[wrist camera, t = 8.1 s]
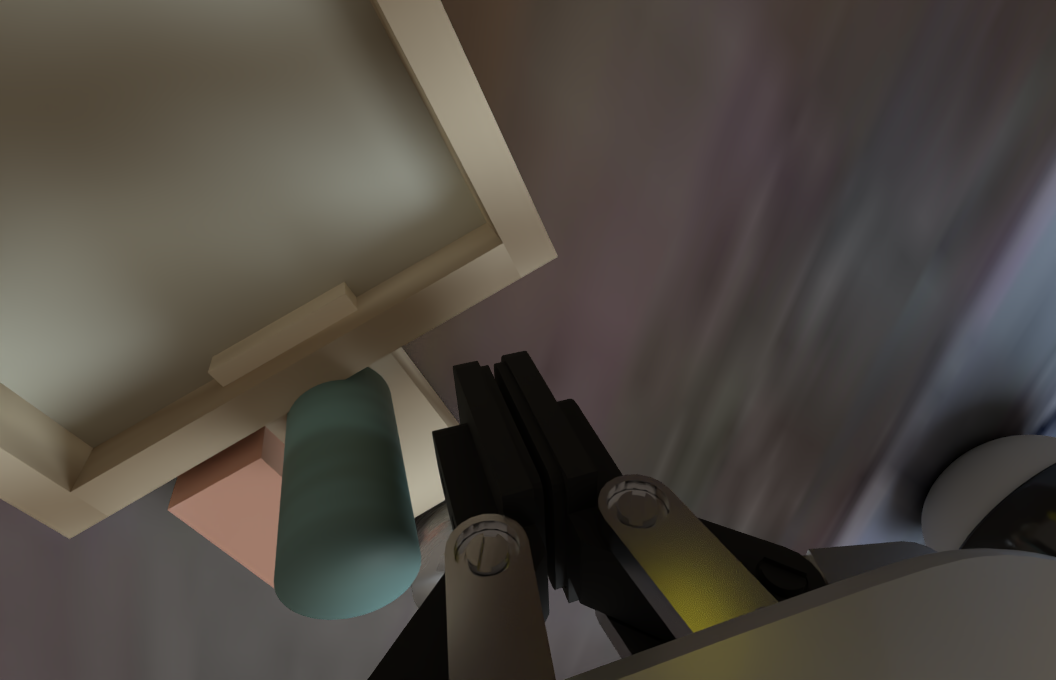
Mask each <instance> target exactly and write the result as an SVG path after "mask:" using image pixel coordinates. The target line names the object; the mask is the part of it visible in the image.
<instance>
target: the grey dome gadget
mask: <svg viewBox="0 0 1056 680" xmlns="http://www.w3.org/2000/svg"><path fill="white" fill-rule="evenodd" d="M921 525H922V533H923V538H924V541H925V544H926V546H927V547H930V548H932V549H934V550H935V551H937V552H942V551H948V550H959V549H976V548H990V549H1007V550H1020V551H1027V552H1033V553H1039V554H1044V555H1048V556H1053V557H1056V438H1055V437H1050V436H1042V435H1015V436H1008V437H1003V438H999V439H996V440H992V441H989V442H987V443H984V444H982V445H980V446H977V447H975V448H973V449H971V450H969V451H968V452H966V453H965V454H963V455H962V456H960V457H959V458H958V459H956V460H955V461H954V462H953V463H951V464H950V465H949V466H948V467H947V468H946V469H945V470H944V471H943V472H942V473H941V474H940V476H939V477H938V478H937V479H936V481H935V482H934V484H933V485H932V487H931V489H930V491H929V493H928V495H927V497H926V500H925V503H924V506H923V511H922V518H921Z"/></svg>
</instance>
